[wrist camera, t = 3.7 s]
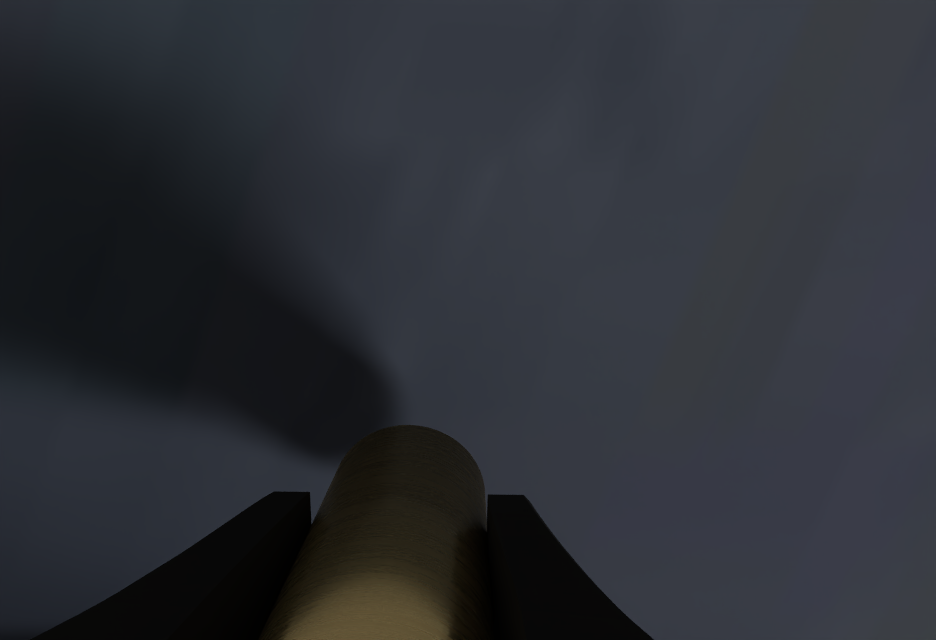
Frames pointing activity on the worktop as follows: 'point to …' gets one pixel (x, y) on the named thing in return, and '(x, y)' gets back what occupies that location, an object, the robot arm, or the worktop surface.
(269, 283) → the worktop surface
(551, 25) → the worktop surface
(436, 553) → the brass pin
